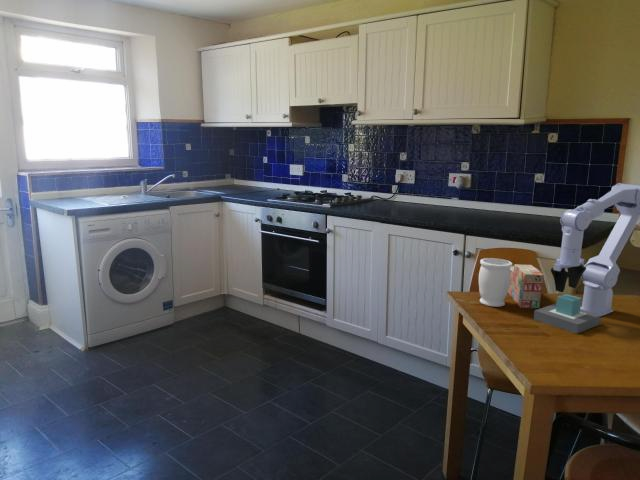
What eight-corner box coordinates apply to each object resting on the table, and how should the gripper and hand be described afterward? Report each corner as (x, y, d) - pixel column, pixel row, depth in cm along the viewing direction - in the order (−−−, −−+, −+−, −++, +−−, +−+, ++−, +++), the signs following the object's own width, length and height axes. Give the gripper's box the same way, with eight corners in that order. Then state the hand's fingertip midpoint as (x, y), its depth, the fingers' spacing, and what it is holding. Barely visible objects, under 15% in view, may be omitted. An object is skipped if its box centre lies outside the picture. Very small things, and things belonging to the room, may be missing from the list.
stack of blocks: (503, 288, 192) (506, 257, 189) (520, 289, 191) (523, 258, 189) (521, 308, 171) (524, 273, 168) (540, 309, 170) (544, 274, 168)
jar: (470, 299, 179) (474, 258, 176) (496, 297, 182) (500, 257, 178) (487, 309, 169) (491, 266, 166) (514, 307, 172) (518, 264, 168)
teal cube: (564, 308, 162) (566, 293, 161) (579, 313, 158) (581, 298, 157) (555, 311, 159) (557, 296, 158) (571, 316, 155) (573, 301, 154)
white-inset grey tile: (557, 310, 169) (558, 302, 168) (600, 324, 158) (601, 314, 157) (533, 319, 161) (534, 310, 160) (576, 333, 150) (578, 324, 149)
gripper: (571, 242, 166) (566, 282, 169) (546, 248, 157) (541, 289, 160) (592, 247, 160) (587, 288, 163) (568, 252, 152) (563, 295, 155)
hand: (566, 289), depth 161 cm, fingers open, 7 cm apart
